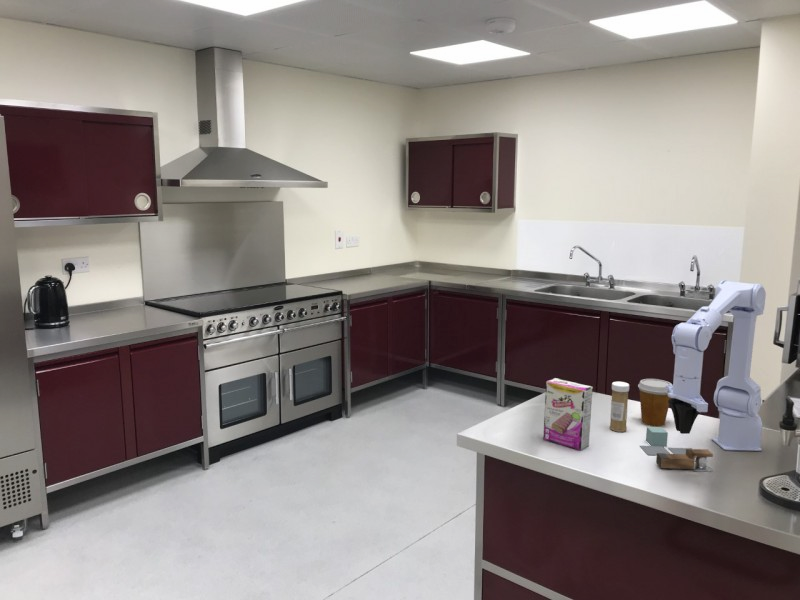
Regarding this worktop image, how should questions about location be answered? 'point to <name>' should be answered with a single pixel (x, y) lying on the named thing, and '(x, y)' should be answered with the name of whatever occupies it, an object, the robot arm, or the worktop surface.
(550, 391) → the candy bar box
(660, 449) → the seat pad
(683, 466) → the leg
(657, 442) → the block
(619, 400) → the sprinkles bottle
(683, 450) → the foot pad
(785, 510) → the worktop surface
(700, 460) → the flanged metal stem
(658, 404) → the disposable coffee cup
